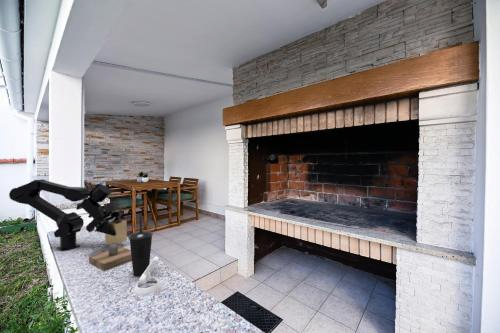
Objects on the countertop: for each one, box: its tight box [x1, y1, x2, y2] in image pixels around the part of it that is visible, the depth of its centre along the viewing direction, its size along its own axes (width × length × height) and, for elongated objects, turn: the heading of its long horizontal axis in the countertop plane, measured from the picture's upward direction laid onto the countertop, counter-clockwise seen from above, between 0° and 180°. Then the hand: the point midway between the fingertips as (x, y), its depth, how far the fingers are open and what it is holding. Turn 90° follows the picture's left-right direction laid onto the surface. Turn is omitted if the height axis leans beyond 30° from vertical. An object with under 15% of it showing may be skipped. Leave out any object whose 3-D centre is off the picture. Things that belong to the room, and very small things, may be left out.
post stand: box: [88, 243, 132, 272], centre depth 86 cm, size 12×12×6 cm
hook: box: [133, 255, 162, 296], centre depth 66 cm, size 8×12×7 cm
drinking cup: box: [127, 215, 154, 278], centre depth 75 cm, size 8×8×20 cm
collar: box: [104, 220, 128, 245], centre depth 100 cm, size 6×6×9 cm
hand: (119, 232), depth 100 cm, fingers closed on collar, 6 cm apart
